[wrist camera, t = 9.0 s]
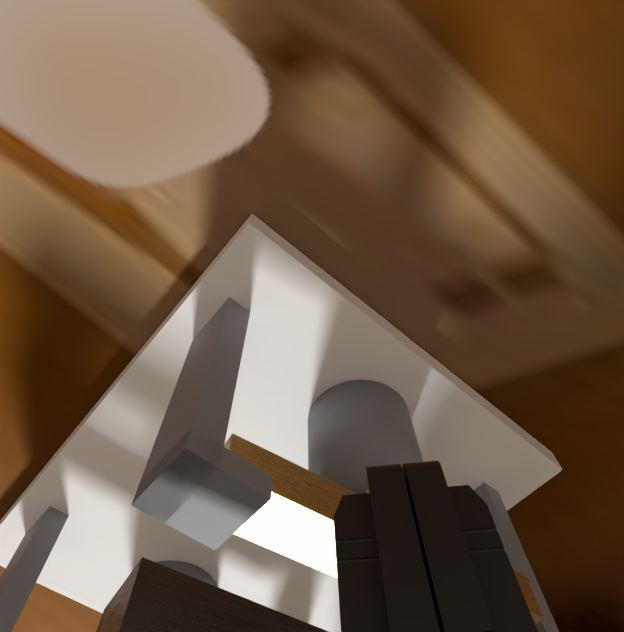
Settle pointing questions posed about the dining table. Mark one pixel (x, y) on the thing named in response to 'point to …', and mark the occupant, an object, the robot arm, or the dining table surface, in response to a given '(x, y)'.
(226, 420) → the lock board
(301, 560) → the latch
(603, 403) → the dining table surface
